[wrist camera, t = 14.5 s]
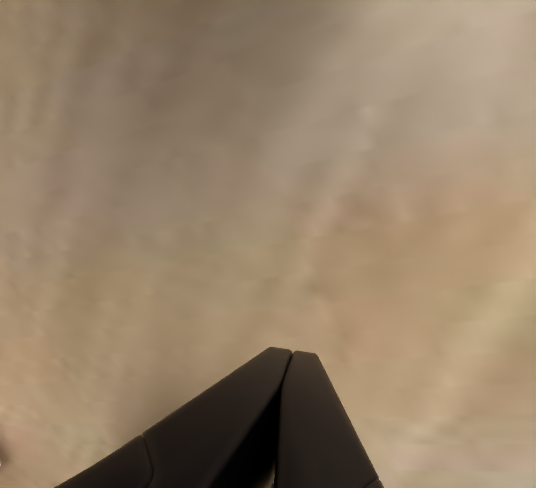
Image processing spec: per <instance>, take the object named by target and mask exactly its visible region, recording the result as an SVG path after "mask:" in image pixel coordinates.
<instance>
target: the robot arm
mask: <svg viewBox="0 0 536 488" xmlns="http://www.w3.org/2000/svg"><path fill="white" fill-rule="evenodd" d="M273 478H274V484H273V483H272V482H273ZM54 488H384V487H383V485H382V483H381V481H380V480H379V478H378V475H377V473H376V471H375V469H374V467H373V465H372V463H371V461H370V459H369V457H368V455H367V453H366V451H365V449H364V447H363V445H362V443H361V441H360V439H359V437H358V435H357V433H356V431H355V429H354V427H353V425H352V423H351V421H350V419H349V417H348V415H347V413H346V411H345V409H344V407H343V405H342V403H341V401H340V399H339V397H338V395H337V393H336V391H335V389H334V387H333V385H332V383H331V381H330V379H329V377H328V375H327V373H326V371H325V369H324V367H323V365H322V363H321V361H320V359H319V357H318V356H317V355H316V354H315V353H309V352H302V351H295V352H294V353H292V351H291V350H289V349H283V348H276V347H269V348H267V349H266V350H265V351H263V352H262V353H260V354H259V355H257V356H256V357H254V358H253V359H251V360H250V361H248V362H247V363H245V364H244V365H242V366H241V367H239V368H238V369H236V370H235V371H234V372H232V373H231V374H229V375H228V376H226V377H225V378H223V379H222V380H220V381H219V382H217V383H216V384H214V385H213V386H211V387H210V388H208V389H207V390H205V391H204V392H203V393H201V394H200V395H198V396H197V397H195V398H194V399H192V400H191V401H189V402H188V403H186V404H185V405H183V406H182V407H180V408H179V409H177V410H176V411H174V412H173V413H172V414H170V415H169V416H167V417H166V418H164V419H163V420H161V421H160V422H158V423H157V424H155V425H154V426H152V427H151V428H149V429H148V430H146V431H145V432H144V433H143V435H142V436H141V435H139V436H137V437H136V438H134V439H133V440H131V441H130V442H128V443H127V444H125V445H124V446H122V447H121V448H119V449H118V450H116V451H115V452H113V453H112V454H110V455H108V456H107V457H105V458H104V459H102V460H101V461H99V462H97V463H96V464H94V465H93V466H91V467H89V468H88V469H86V470H84V471H82V472H81V473H79V474H77V475H75V476H74V477H72V478H70V479H68V480H67V481H65V482H63V483H61V484H60V485H58V486H56V487H54Z"/></svg>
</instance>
